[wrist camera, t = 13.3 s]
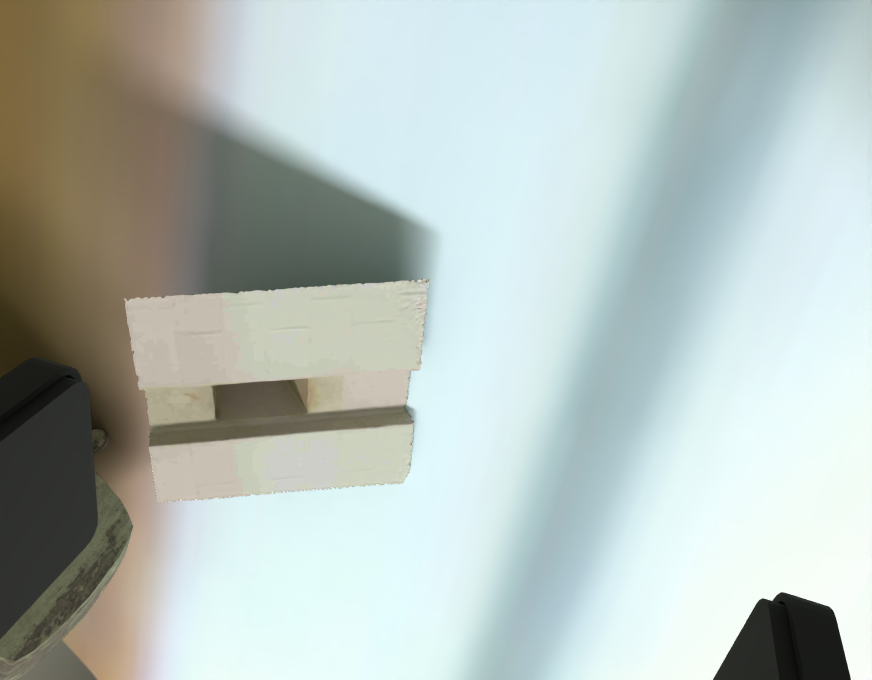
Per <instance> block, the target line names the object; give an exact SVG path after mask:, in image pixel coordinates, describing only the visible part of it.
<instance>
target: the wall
mask: <svg viewBox="0 0 872 680" xmlns="http://www.w3.org/2000/svg"><path fill="white" fill-rule="evenodd" d="M428 284H429V279H427V280H426V279H422V280H418V282H415V283H414V280H412V281H410V282H409V281H408V280H407V281H405V280H403V281H398V282H397V281H395V283H394V282H385V283H380V282H379V284H377V283H370V282H369V283H365V284H364V285H362V284H361V283H357V284H352V285H351V286H350V285H348V284H347V285H346V284H343V285H340V284H338V285H334V286H333V285H328V286H321V287H317V286H315V287H307V288H304V287H300V288H296V287H295V288H288V289H281V290H280V289H276V290H274V291H272V290H270V289H269V290H268V291H265V290H264V291H261V290H254V291H249V292H247V291H245V292H243V291H240V292H239V293H237V294H236V293H229V292H227V293H215V294H214V293H209V294H204V293H203V294H201V295H199V294H195V295H193V296H192V295H190V296H189V295H186V296H184V295H185V294H184V295H176V296H165V298H161V297H157V298H155V297H153V296H152V297H151V298H149V299H148V298H147V297H145V298H143V299H141V298H139V297H137V298H135V299H130V300H129V301H127V300H126V299H125V298H124V300H125V301H126V303H125V309H126V314H127V319H128V320H127V324H128V326H129V333H130V337H131V338H132V339H131V340H130V341H131V346H132V351H134V354H133V360H134V365H135V369H136V375H138V376H139V381H138V384H137V385H138V386H139V387H138V388H139V390H144V391H145V395H144V396H146V397H145V398H147V400H148V401H147V402H146V403H147V405H148V407H147V408H148V411H147V414H148V415H150V416H148V418H149V425H151V427H152V429H149V430H151V432H150V434H151V435H150V436H149V438H151V439H150V442H149V443H150V445H149V448H148V449H149V452H150V456H151V458H150V459H151V460H150V462H151V465H152V466H153V468H152V471H153V472H152V473H153V476H155V478H153V479H154V481H153V482H155V484H156V485H154V486H155V490H156V491H157V492H156V494H157V495H156V497H157V501H158V503H159V502H168V501H172V502H173V501H174V502H175V501H177V500H178V501H179V500H180V499H181V500H195V499H197V500H199V499H200V500H204V499H213V498H216V497H218V498H226V497H228V498H229V496H230V497H235V496H236V497H237V496H250V495H251V494H255V495H259V494H271V493H272V492H273V493H277V492H281V493H282V492H284V491H285V492H287V491H288V492H290V491H292V492H293V491H304V490H306V491H307V490H316V489H318V490H319V489H322V490H324V489H331V488H332V487H333V488H335V489H336V487H338V488H339V489H340V488H344V487H347V488H348V487H350V486H352V487H355V486H366V485H369V486H370V485H376V484H379V485H384V484H385V483H387V484H401V483H403V482H404V480H405V478H406V477H407V475H408V474H407V473H409V470H410V465H409V463H411V461H410V460H411V458H410V456H411V453H410V452H412V447H413V446H412V445H410V444H411V443H412V442H413V440H412V439H413V437H412V434H413V430H414V429H413V427H414V425H413V423H414V421H413V420H411V419H410V416H409V414H408V413H406V410H405V409H404V407H405V405H406V403H407V399H408V398H406V397H407V396H408V394H409V393H407V391H409V390H408V385H409V382H410V380H408V377H409V376H410V372H411V371H414V370H420V367H419V366H420V365H421V361H420V360H421V354H422V350H421V349H422V341H423V336H424V331H423V329H424V327H423V326H422V325H423V324H425V321H424V319H425V318H424V316H425V315H426V313H425V311H426V307H425V306H426V305H427V298H428V295H427V294H428V291H427V290H428V288H427V286H428Z"/></svg>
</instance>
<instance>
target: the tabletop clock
mask: <svg viewBox="0 0 872 680" xmlns="http://www.w3.org/2000/svg"><path fill="white" fill-rule="evenodd" d="M92 440H93V452H100V451H103V450H104V449H105V448H106V447H107V446H108V443H109V438H108V435H107V433H106V432H105V431H103V430H101V429H94V430H92ZM95 483H96V497H97V511H98V525H97V529H96V531H95V534H94V536H93V538H92V540H91V541H90V543H89V544H88V545H87V546H86V548H85V549H84V550H83V551H82V552H81V553H80V554H79V555H78V556H77V557H76V558H75V559H74V560H73V562H72V563H71V564H70V565H69V566H68V567H67V568H66V569H65V570H64V571H63V572H62V573H61V575H60V576H59V577H58V578H57V579H56V580H55V581H54V582H53V583H52V584H51V585H50V586H49V587H48V589H47V590H46V591H45V592H44V593H43V594H42V595H41V596H40V597H39V598H38V599H37V600H36V601H35V603H34V604H33V605H32V606H31V607H30V608H29V609H28V610H27V611H26V612H25V613H24V614H23V615H22V617H21V618H20V619H19V620H18V621H17V622H16V623H15V624H14V625H13V626H12V627H11V628H10V630H9V631H8V632H7V633H6V634H5V635H4V636H3V637H2V638H1V639H0V680H15V679H17V678H19V677H21V676H22V675H24V674H25V673H26V672H28V671H29V670H30V669H31V668H32V667H34V666H35V665H36V664H37V663H39V662H40V661H41V660H42V659H43V658H45V657H46V656H47V655H48V654H49V653H50V651H52V650H53V649H54V648H55V647H56V645H58V644H59V642H60V641H61V640H62V639H63V638H64V637H65V636H66V635H67V634H68V633H69V632H70V631H71V630H72V629H73V628H74V627H75V626H76V625H77V624H78V623H79V622H80V621H81V620H82V619H83V618H84V617H85V615H86V614H87V612H88V611H89V610H90V608H91V607H92V605H93V604H94V603H95V601H96V600H97V598H98V597H99V596H100V594H101V593H102V591H103V590H104V589H105V587H106V586H107V584H108V583H109V582H110V580H111V579H112V577H113V576H114V574H115V572H116V570H117V569H118V567H119V565H120V563H121V561H122V559H123V557H124V555H125V552H126V549H127V546H128V543H129V539H130V536H131V532H132V528H133V525H132V523H131V520H130V517H129V515H128V513H127V511H126V509H125V507H124V506H123V504H122V503H121V501H120V500H119V499H118V497H117V496H116V495H115V494H114V493H113V491H112V490H111V489H110V488H109V487H108V485H107V484H106V483H105V482H104V481H103V479H102V478H101V477H100V476H99V475H98V474H97V472H96V471H95Z"/></svg>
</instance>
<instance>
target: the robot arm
mask: <svg viewBox="0 0 872 680" xmlns="http://www.w3.org/2000/svg"><path fill="white" fill-rule="evenodd" d="M97 525H98V511H97V497H96V483H95V469H94V455H93V440H92V426H91V412H90V398H89V389H88V386H87V385H86V383H84V382H82V380H81V376H80V374H79V372H78V371H77V370H76V369H74V368H71V367H68V366H65V365H62V364H59V363H56V362H52V361H49V360H46V359H43V358H40V357H34V358H31V359H29V360H27V361H25V362H23V363H22V364H20V365H19V366H18V367H16V368H15V369H13V370H12V371H10V372H9V373H7V374H6V375H4V376H3V377H2V378H0V639H1V638H2V637H3V636H4V635H5V634H6V633H7V632H8V631H9V630H10V628H11V627H12V626H13V625H14V624H15V623H16V622H17V621H18V620H19V619H20V618H21V617H22V615H23V614H24V613H25V612H26V611H27V610H28V609H29V608H30V607H31V606H32V605H33V604H34V603H35V601H36V600H37V599H38V598H39V597H40V596H41V595H42V594H43V593H44V592H45V591H46V590H47V589H48V587H49V586H50V585H51V584H52V583H53V582H54V581H55V580H56V579H57V578H58V577H59V576H60V575H61V573H62V572H63V571H64V570H65V569H66V568H67V567H68V566H69V565H70V564H71V563H72V562H73V560H74V559H75V558H76V557H77V556H78V555H79V554H80V553H81V552H82V551H83V550H84V549H85V548H86V546H87V545H88V544H89V543H90V541H91V540H92V538H93V536H94V534H95V531H96V529H97ZM713 680H851V678H850V674H849V670H848V666H847V662H846V658H845V653H844V649H843V645H842V641H841V637H840V633H839V629H838V624H837V620H836V617H835V614H834V612H833V610H832V609H831V608H830V607H828V606H825V605H822V604H819V603H816V602H813V601H809V600H806V599H803V598H800V597H797V596H794V595H790V594H787V593H782V592H781V593H779V594H778V595H777V596H776V597H775V598H774V600H773V601H770V600H767V599H761V600H759V601H758V603H757V604H756V605H755V607H754V609H753V611H752V612H751V614H750V616H749V618H748V619H747V621H746V623H745V625H744V626H743V628H742V630H741V632H740V633H739V635H738V637H737V639H736V640H735V642H734V644H733V646H732V647H731V649H730V651H729V653H728V654H727V656H726V658H725V660H724V661H723V663H722V665H721V667H720V668H719V670H718V672H717V674H716V675H715V677H714V679H713Z"/></svg>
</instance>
